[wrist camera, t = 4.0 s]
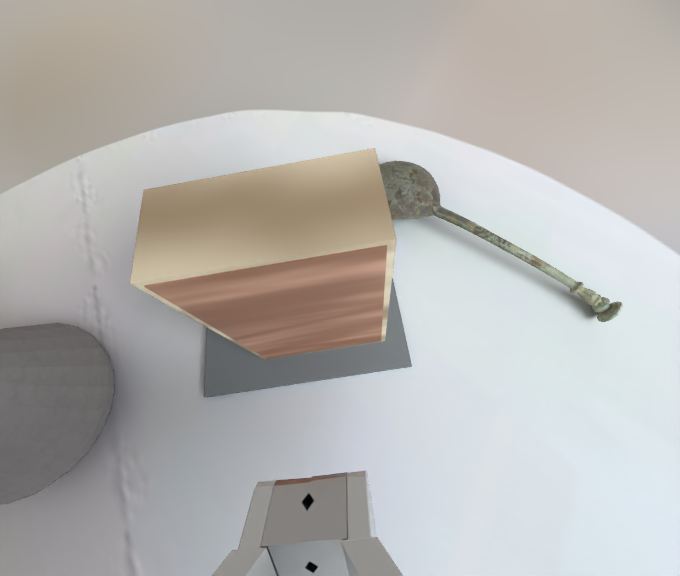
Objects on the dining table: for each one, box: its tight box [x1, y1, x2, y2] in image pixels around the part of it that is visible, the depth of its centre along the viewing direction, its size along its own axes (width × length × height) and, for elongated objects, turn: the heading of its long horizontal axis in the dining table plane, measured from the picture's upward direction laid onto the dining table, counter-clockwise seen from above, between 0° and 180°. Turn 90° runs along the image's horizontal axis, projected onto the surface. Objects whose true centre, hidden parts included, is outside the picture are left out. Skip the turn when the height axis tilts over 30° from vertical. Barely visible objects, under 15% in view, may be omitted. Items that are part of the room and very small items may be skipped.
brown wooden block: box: [130, 148, 396, 360], centre depth 18 cm, size 4×9×14 cm, turn 98°
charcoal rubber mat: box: [204, 278, 412, 397], centre depth 27 cm, size 20×15×1 cm
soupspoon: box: [379, 161, 623, 322], centre depth 25 cm, size 22×3×7 cm
